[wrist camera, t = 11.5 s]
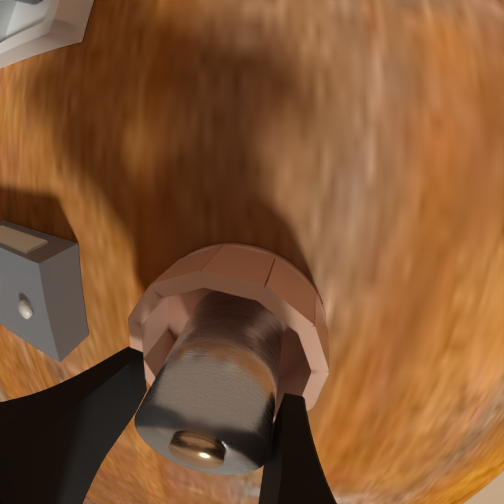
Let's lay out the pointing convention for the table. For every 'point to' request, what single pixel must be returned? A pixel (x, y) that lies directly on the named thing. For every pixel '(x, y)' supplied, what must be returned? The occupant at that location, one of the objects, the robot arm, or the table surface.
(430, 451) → the table surface
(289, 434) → the robot arm
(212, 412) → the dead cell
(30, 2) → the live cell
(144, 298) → the pink bowl
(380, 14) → the table surface
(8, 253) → the grey box with knobs
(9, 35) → the tray
